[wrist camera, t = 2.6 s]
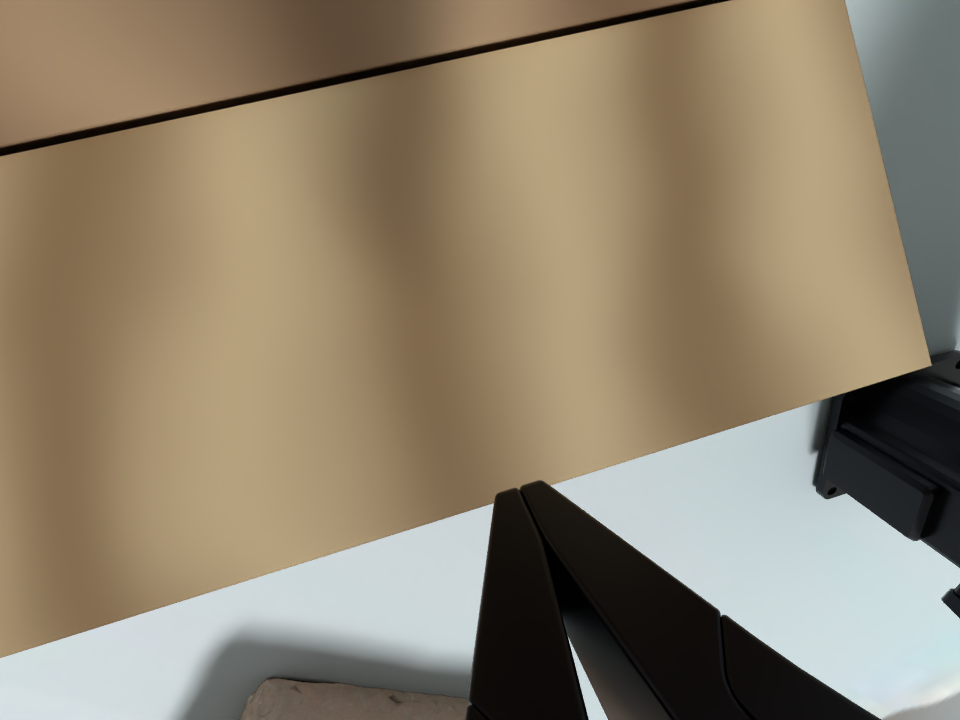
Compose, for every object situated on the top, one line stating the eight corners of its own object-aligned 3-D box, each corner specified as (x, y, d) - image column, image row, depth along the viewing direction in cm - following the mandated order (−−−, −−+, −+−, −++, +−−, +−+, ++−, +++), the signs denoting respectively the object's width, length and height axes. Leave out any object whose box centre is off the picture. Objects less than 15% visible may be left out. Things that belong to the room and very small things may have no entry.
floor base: (806, -602, 8) (959, -866, 6) (739, 338, 18) (791, 365, 15) (-562, -501, 6) (-1057, -843, 4) (164, 506, 15) (129, 566, 13)
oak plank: (789, 24, 12) (839, -23, 11) (872, 364, 13) (931, 365, 11) (-85, 217, 10) (-175, 194, 9) (44, 620, 10) (-20, 664, 9)
